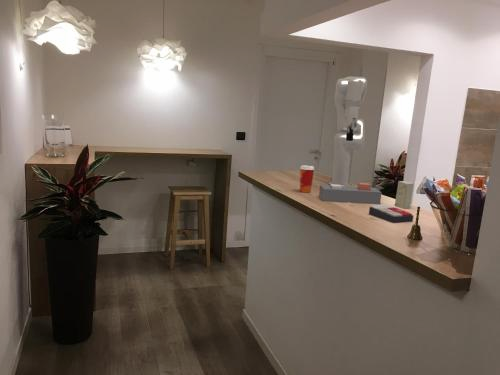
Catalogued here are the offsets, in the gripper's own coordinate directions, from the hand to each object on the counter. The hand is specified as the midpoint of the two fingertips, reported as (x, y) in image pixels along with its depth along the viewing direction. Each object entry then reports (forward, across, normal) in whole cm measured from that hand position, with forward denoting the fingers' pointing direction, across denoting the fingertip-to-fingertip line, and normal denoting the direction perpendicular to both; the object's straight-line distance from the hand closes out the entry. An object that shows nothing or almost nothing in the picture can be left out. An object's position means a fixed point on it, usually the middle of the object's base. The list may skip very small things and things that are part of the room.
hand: (349, 140), depth 215 cm
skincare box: (+29, +20, +24) cm, 43 cm away
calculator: (+30, +43, +10) cm, 53 cm away
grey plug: (+29, +11, -7) cm, 32 cm away
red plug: (+27, +11, +7) cm, 30 cm away
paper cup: (+29, -4, -20) cm, 36 cm away
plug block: (+29, +11, 0) cm, 31 cm away
